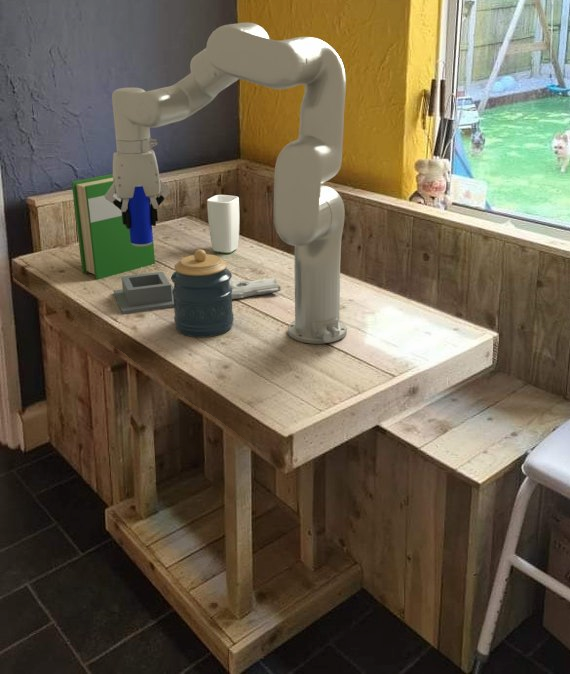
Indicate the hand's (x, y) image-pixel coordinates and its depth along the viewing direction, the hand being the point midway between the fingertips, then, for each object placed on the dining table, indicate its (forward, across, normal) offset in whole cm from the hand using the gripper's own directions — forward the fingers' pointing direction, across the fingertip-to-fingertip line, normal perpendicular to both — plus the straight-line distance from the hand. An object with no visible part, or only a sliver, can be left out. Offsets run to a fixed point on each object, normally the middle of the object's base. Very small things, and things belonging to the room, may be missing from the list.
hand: (140, 225), depth 191 cm
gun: (+19, -22, +3) cm, 29 cm away
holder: (+18, 0, 0) cm, 18 cm away
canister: (+19, -9, +21) cm, 29 cm away
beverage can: (+5, 0, 0) cm, 5 cm away
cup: (+19, -27, -29) cm, 44 cm away
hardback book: (+19, +3, -25) cm, 32 cm away
